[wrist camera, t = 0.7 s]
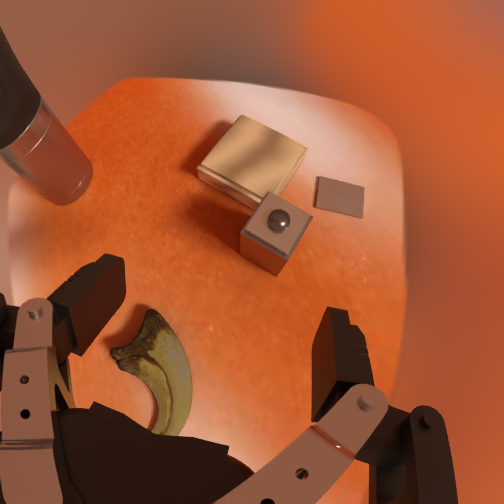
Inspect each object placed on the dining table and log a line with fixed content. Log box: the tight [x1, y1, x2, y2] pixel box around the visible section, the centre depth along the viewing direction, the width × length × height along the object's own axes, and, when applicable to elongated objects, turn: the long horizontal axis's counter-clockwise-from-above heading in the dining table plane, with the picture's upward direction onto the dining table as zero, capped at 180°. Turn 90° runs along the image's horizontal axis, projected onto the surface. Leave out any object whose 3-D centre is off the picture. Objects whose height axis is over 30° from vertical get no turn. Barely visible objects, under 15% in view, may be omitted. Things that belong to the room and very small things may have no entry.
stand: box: [197, 115, 308, 210], centre depth 40 cm, size 11×11×4 cm
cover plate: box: [316, 176, 364, 219], centre depth 42 cm, size 7×5×1 cm
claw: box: [110, 309, 192, 436], centre depth 33 cm, size 20×10×3 cm, turn 4°
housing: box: [240, 191, 313, 277], centre depth 34 cm, size 6×6×11 cm
